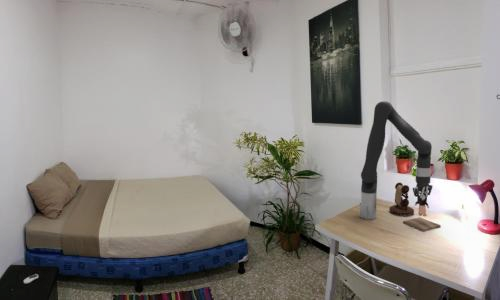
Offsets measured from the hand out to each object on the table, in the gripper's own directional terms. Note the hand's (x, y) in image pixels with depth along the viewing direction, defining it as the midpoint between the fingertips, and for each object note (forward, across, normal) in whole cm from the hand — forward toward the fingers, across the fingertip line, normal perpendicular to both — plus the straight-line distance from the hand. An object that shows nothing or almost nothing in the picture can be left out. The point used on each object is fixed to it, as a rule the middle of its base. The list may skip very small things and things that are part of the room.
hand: (422, 202), depth 176 cm
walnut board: (+14, 0, 0) cm, 14 cm away
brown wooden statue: (+14, -6, -20) cm, 25 cm away
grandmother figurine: (+8, 0, 0) cm, 8 cm away
